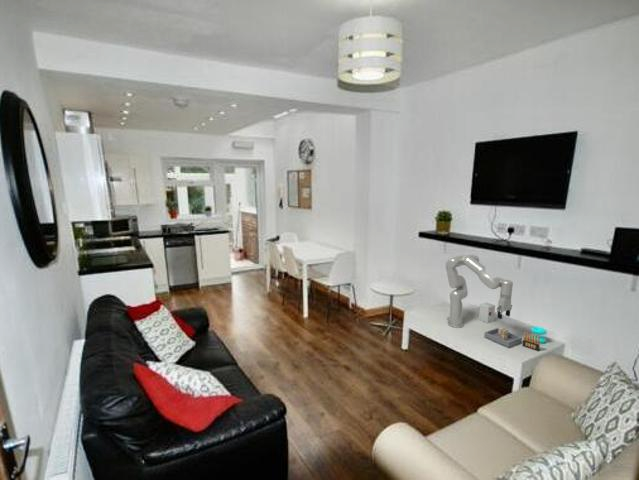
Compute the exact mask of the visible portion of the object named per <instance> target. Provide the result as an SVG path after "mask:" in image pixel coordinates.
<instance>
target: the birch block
mask: <svg viewBox="0 0 639 480" xmlns="http://www.w3.org/2000/svg"><path fill="white" fill-rule="evenodd" d="M508 332H509V330H508V328H505V327H500V328H499V333H498V338H501V339H503V340H507V336H508Z"/></svg>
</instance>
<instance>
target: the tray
mask: <svg viewBox="0 0 639 480" xmlns="http://www.w3.org/2000/svg"><path fill="white" fill-rule="evenodd" d="M499 329H500V328H499V327H496V328H493V329H490V330H488V331H484V335H483V336H484V337H483V338H485V339H487V340H489V341H491V342H494V343H496V344H498V345H501V346H502V347H505V348H506V349H510V348H512V347H516V346H519V345H520V344H523V337H522V336H519V335H517V334H514V333H512V332H510V331H508V336H507V340H503V339H501V338H498V333H499Z"/></svg>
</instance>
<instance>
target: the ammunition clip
mask: <svg viewBox="0 0 639 480" xmlns="http://www.w3.org/2000/svg"><path fill="white" fill-rule="evenodd" d="M534 335H535V339H534ZM537 335H538V334H535V333H532V332H527V331H526V330H525V331H524V333H523V337H522V344H521V345H522V347H525V348H526V349H529V350H532V351H533V350H534V351H536V352H539V351H540V344H541V343H540V337H539V335H538V339H537ZM531 336H532V339H531Z"/></svg>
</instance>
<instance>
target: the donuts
mask: <svg viewBox="0 0 639 480" xmlns="http://www.w3.org/2000/svg"><path fill="white" fill-rule="evenodd" d="M530 330H531V333H532V334H534V339H535V335H537V339H538V335H539V337H540V343H539V344H545V343H546V341H547V339H546V338H545V337H544V336H543V335H546V334H547V332H548V331H547V330H546V328H544V327H541V326H532V327H531V329H530ZM531 339H532V335H531Z"/></svg>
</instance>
